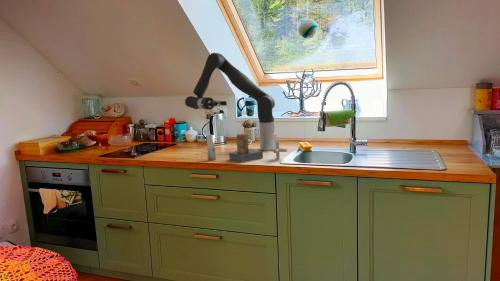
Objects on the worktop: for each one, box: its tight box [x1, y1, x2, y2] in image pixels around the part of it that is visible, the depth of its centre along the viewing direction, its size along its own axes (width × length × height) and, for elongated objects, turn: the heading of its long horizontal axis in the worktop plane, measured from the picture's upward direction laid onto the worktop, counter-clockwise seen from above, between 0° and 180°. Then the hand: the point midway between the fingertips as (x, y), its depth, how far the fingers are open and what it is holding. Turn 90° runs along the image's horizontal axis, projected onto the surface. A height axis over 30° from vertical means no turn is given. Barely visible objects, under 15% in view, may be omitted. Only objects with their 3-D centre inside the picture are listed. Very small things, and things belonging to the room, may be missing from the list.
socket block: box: [228, 148, 264, 163], centre depth 213 cm, size 15×11×4 cm
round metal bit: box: [206, 134, 217, 162], centre depth 213 cm, size 4×4×14 cm
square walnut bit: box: [236, 133, 249, 154], centre depth 211 cm, size 4×4×14 cm
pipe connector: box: [268, 140, 288, 160], centre depth 209 cm, size 10×10×10 cm
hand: (220, 104), depth 224 cm, fingers open, 8 cm apart
